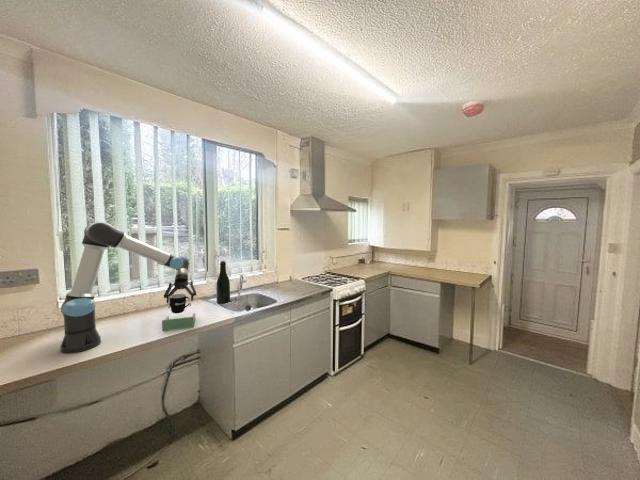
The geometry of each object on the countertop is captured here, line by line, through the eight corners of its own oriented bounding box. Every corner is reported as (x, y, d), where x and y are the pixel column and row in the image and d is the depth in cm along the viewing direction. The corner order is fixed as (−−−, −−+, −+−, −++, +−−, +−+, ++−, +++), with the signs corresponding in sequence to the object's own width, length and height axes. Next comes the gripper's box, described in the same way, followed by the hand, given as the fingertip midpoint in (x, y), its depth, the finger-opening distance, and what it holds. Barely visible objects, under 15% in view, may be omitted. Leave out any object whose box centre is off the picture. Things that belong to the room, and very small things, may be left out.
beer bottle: (228, 298, 217) (227, 259, 215) (231, 302, 209) (231, 261, 207) (215, 300, 212) (214, 260, 210) (218, 304, 203) (217, 262, 201)
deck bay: (162, 331, 152) (162, 320, 152) (166, 321, 167) (166, 312, 166) (193, 327, 158) (193, 317, 158) (195, 318, 173) (194, 309, 173)
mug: (172, 315, 156) (172, 298, 155) (167, 311, 162) (167, 295, 161) (193, 310, 165) (193, 295, 164) (188, 307, 171) (187, 292, 170)
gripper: (201, 278, 181) (200, 306, 167) (162, 281, 172) (158, 311, 159) (200, 272, 175) (200, 301, 162) (160, 274, 167) (156, 305, 153)
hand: (179, 306), depth 160 cm, fingers closed on mug, 11 cm apart
